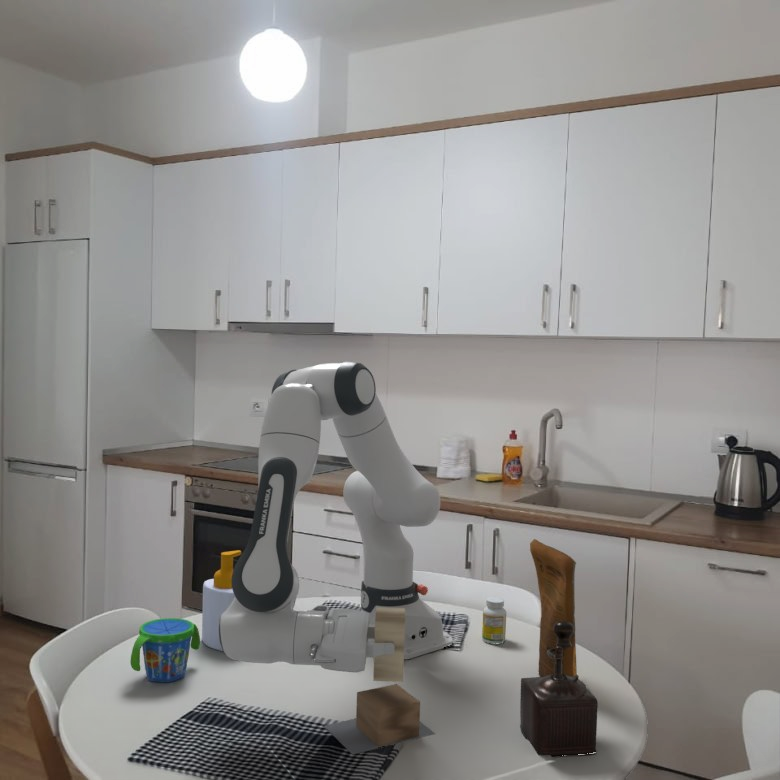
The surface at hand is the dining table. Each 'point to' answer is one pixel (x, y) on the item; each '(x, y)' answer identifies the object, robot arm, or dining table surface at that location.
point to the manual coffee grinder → (558, 707)
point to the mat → (363, 736)
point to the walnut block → (387, 714)
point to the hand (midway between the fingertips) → (394, 641)
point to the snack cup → (165, 648)
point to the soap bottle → (217, 599)
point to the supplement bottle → (494, 621)
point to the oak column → (390, 629)
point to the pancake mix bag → (554, 604)
